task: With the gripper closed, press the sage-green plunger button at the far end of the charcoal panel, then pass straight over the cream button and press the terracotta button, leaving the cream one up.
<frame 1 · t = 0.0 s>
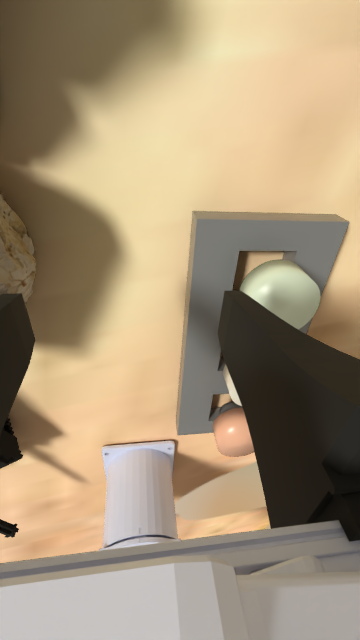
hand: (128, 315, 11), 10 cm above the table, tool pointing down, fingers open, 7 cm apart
panel: (238, 340, 26), on the table
button cream: (251, 370, 23), point 4 cm above the table, slide at 0.0 cm
button sage: (273, 292, 19), point 4 cm above the table, slide at 0.0 cm
button terracotta: (236, 425, 27), point 4 cm above the table, slide at 0.0 cm
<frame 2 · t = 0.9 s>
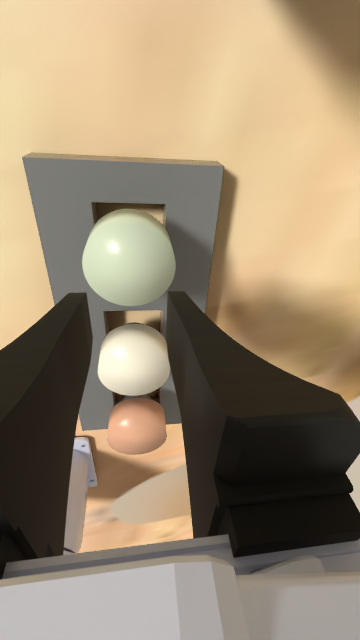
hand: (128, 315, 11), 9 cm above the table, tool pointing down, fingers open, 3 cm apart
panel: (134, 320, 23), on the table
button cream: (134, 352, 20), point 4 cm above the table, slide at 0.0 cm
button sage: (130, 253, 16), point 4 cm above the table, slide at 0.0 cm
button terracotta: (137, 418, 24), point 4 cm above the table, slide at 0.0 cm
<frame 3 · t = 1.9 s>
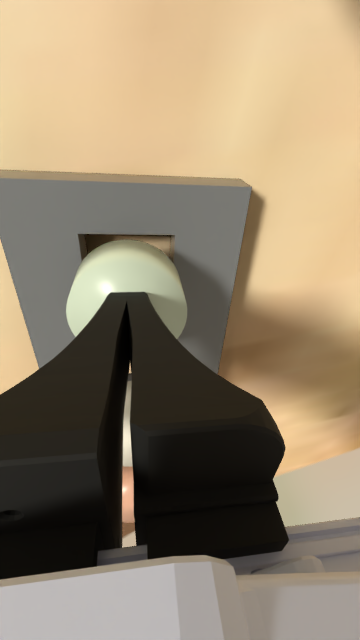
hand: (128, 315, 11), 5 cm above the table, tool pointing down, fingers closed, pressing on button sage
panel: (134, 364, 19), on the table
button cream: (134, 412, 16), point 4 cm above the table, slide at 0.0 cm
button sage: (129, 292, 12), point 3 cm above the table, slide at 0.7 cm, touching gripper
button terracotta: (137, 478, 20), point 4 cm above the table, slide at 0.0 cm
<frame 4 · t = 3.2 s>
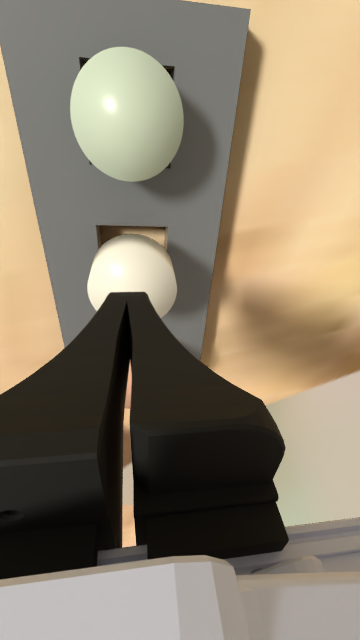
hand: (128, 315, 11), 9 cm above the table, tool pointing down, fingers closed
panel: (133, 248, 19), on the table
button cream: (133, 275, 16), point 4 cm above the table, slide at 0.0 cm
button sage: (129, 119, 13), point 2 cm above the table, slide at 1.3 cm
button terracotta: (135, 366, 20), point 4 cm above the table, slide at 0.0 cm
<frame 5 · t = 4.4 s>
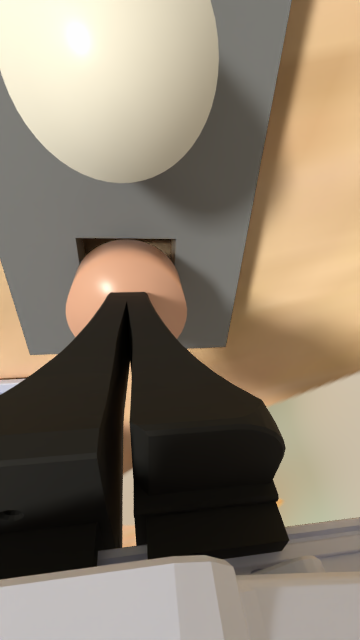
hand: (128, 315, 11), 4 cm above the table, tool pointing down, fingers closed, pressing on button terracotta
panel: (121, 82, 10), on the table
button cream: (116, 73, 7), point 4 cm above the table, slide at 0.0 cm
button terracotta: (128, 292, 12), point 2 cm above the table, slide at 1.2 cm, touching gripper
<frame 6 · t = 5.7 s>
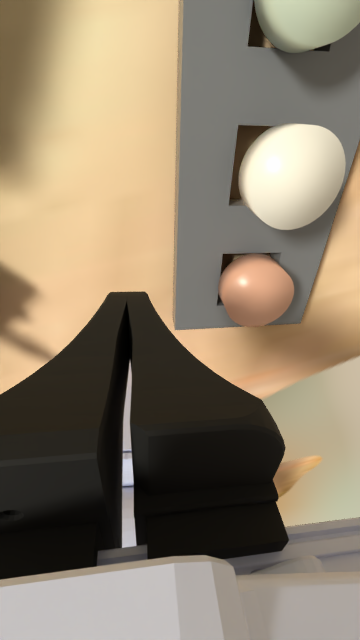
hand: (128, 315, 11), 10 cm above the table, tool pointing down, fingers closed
panel: (258, 164, 18), on the table
button cream: (282, 175, 15), point 4 cm above the table, slide at 0.0 cm
button terracotta: (250, 285, 20), point 2 cm above the table, slide at 1.3 cm
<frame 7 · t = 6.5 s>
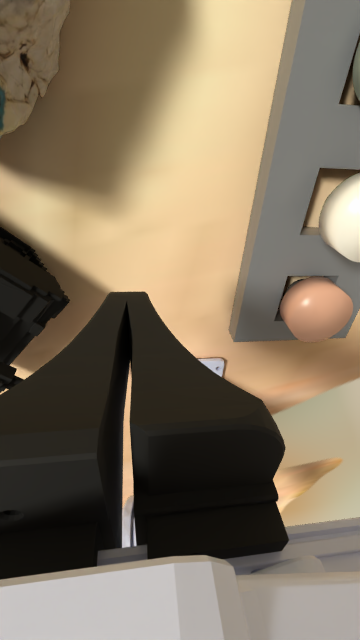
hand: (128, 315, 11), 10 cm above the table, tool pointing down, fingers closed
panel: (325, 197, 20), on the table
button cream: (358, 213, 17), point 4 cm above the table, slide at 0.0 cm
button terracotta: (309, 304, 22), point 2 cm above the table, slide at 1.3 cm
rock: (0, 2, 13), on the table
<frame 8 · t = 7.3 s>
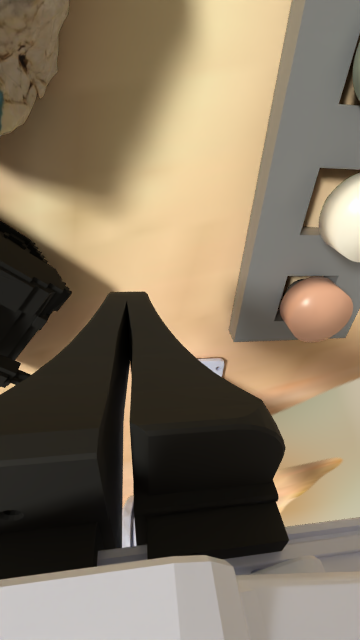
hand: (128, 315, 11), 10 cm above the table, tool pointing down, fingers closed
panel: (325, 197, 20), on the table
button cream: (358, 213, 17), point 4 cm above the table, slide at 0.0 cm
button terracotta: (309, 304, 22), point 2 cm above the table, slide at 1.3 cm
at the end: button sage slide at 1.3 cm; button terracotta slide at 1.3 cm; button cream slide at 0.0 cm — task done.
